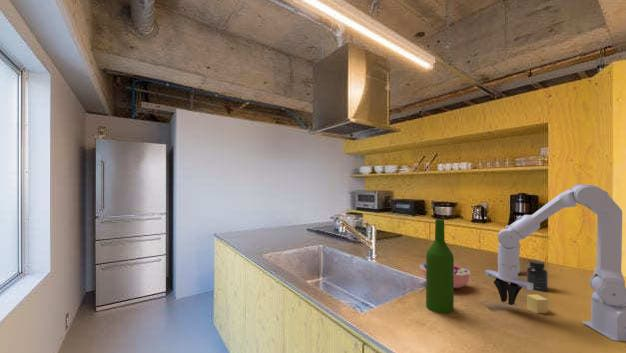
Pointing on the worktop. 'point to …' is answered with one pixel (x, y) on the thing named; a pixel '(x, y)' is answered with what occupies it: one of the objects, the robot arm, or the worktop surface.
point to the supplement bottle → (537, 276)
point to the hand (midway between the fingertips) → (507, 302)
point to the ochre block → (537, 303)
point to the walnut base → (500, 306)
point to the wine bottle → (439, 274)
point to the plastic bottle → (518, 256)
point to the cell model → (459, 275)
